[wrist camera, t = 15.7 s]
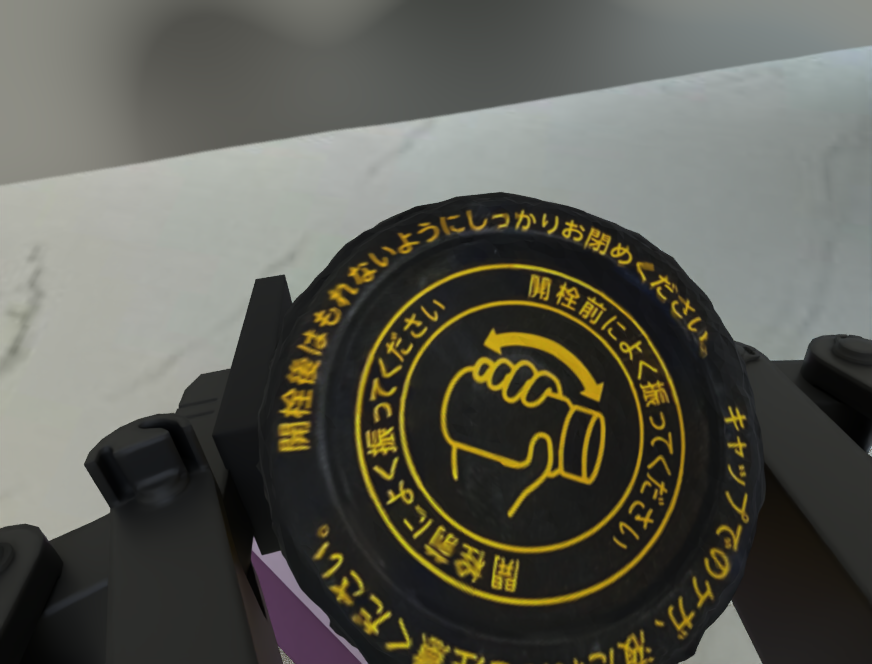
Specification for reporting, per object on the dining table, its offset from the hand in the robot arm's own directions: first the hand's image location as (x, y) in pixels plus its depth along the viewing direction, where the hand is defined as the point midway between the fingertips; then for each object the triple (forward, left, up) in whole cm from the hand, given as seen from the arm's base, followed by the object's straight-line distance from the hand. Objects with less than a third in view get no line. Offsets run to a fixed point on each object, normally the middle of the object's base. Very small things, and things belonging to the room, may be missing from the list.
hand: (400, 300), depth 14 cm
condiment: (+2, +3, -4) cm, 5 cm away
